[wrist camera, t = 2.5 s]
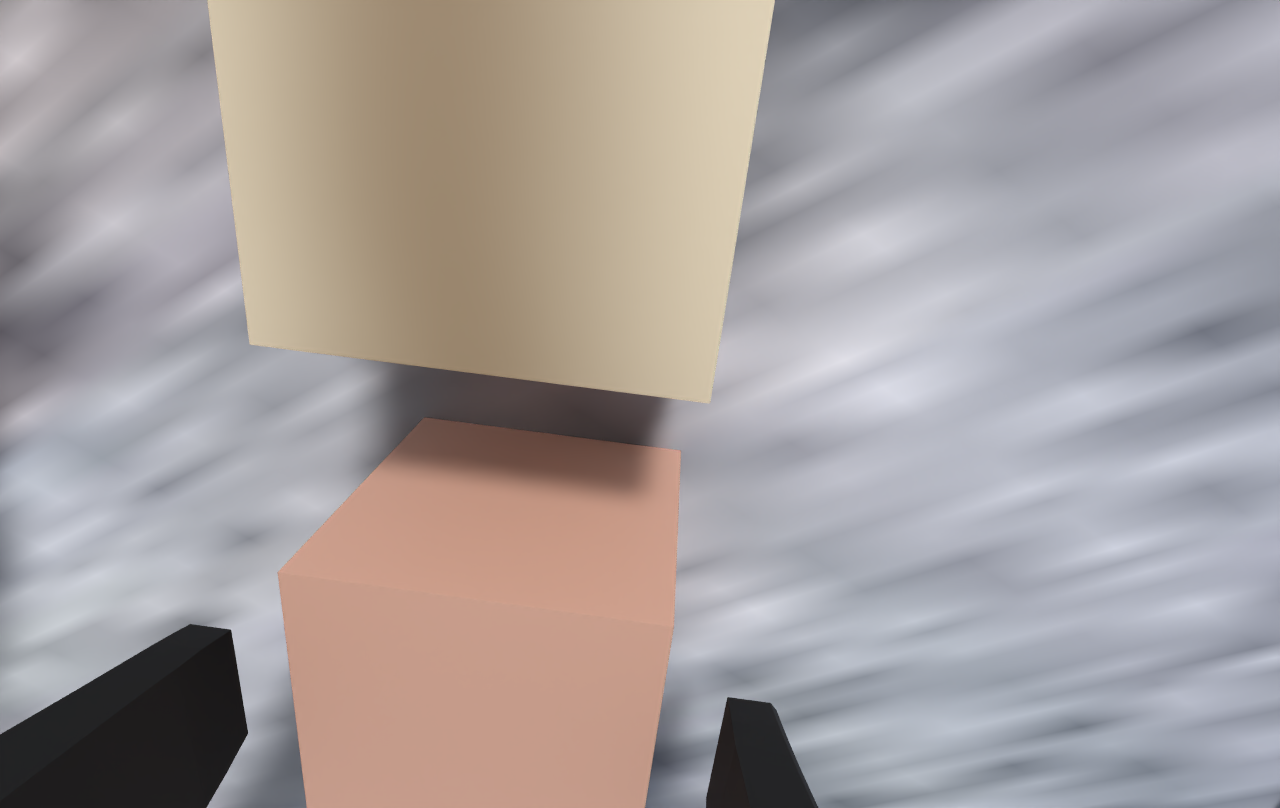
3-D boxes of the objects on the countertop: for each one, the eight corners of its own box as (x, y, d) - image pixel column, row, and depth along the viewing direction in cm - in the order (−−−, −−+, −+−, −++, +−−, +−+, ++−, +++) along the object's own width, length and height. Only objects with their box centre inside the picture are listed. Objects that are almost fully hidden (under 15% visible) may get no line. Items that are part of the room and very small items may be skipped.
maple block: (752, -38, 10) (805, -191, 5) (703, 296, 12) (709, 404, 7) (417, -75, 10) (176, -256, 5) (423, 261, 12) (250, 344, 7)
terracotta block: (681, 448, 13) (674, 626, 8) (651, 650, 15) (632, 886, 10) (425, 415, 13) (277, 572, 8) (429, 619, 15) (311, 838, 10)
